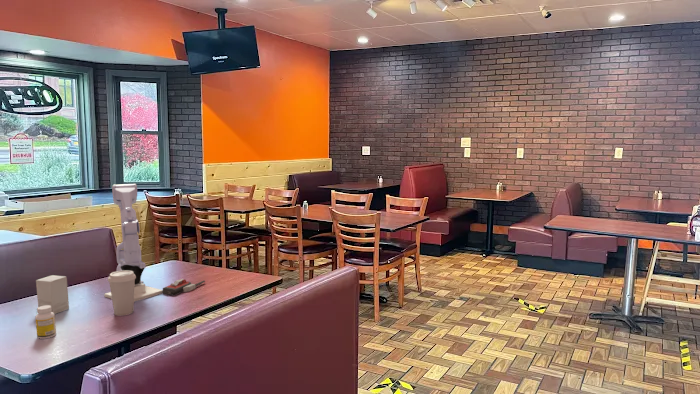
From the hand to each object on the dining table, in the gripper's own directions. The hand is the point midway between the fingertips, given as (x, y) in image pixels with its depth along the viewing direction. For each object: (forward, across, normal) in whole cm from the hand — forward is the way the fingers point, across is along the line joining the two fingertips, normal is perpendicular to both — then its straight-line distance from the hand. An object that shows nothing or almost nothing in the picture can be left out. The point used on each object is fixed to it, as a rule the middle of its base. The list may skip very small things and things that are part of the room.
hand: (133, 282), depth 210 cm
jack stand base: (+5, 0, 0) cm, 5 cm away
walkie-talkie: (+6, +11, +16) cm, 20 cm away
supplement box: (+5, -8, -28) cm, 30 cm away
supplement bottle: (+5, +15, -42) cm, 45 cm away
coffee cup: (+5, +16, -15) cm, 23 cm away
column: (+4, 0, 0) cm, 4 cm away
